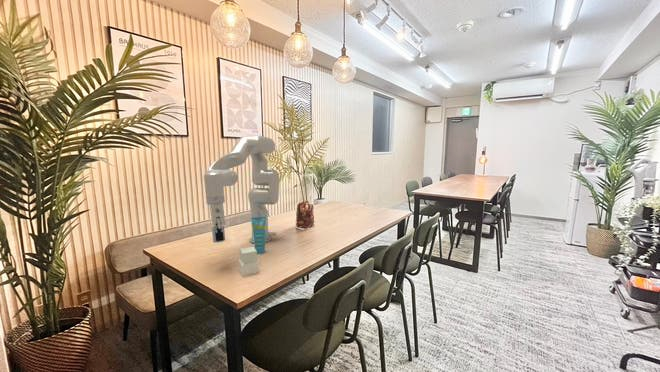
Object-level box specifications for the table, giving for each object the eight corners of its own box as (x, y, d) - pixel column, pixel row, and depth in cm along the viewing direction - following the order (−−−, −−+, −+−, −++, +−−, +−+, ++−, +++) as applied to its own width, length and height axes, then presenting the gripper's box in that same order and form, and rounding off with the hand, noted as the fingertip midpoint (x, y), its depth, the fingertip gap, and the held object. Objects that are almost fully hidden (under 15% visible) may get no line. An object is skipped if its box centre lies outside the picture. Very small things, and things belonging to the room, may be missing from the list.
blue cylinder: (224, 237, 127) (223, 225, 126) (226, 241, 122) (224, 228, 121) (212, 239, 125) (211, 227, 123) (213, 243, 120) (212, 230, 119)
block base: (254, 266, 126) (254, 256, 125) (258, 272, 120) (258, 262, 119) (239, 270, 122) (238, 259, 122) (242, 276, 116) (241, 265, 115)
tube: (252, 254, 140) (250, 218, 137) (253, 251, 145) (251, 216, 142) (267, 253, 142) (265, 217, 139) (267, 249, 146) (265, 215, 144)
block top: (254, 257, 124) (253, 246, 124) (257, 261, 119) (256, 251, 118) (240, 259, 121) (239, 249, 121) (243, 264, 116) (242, 253, 116)
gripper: (227, 202, 115) (230, 243, 118) (222, 195, 129) (225, 231, 132) (207, 204, 111) (211, 246, 114) (204, 197, 126) (208, 234, 129)
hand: (219, 238), depth 123 cm, fingers closed on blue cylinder, 5 cm apart
